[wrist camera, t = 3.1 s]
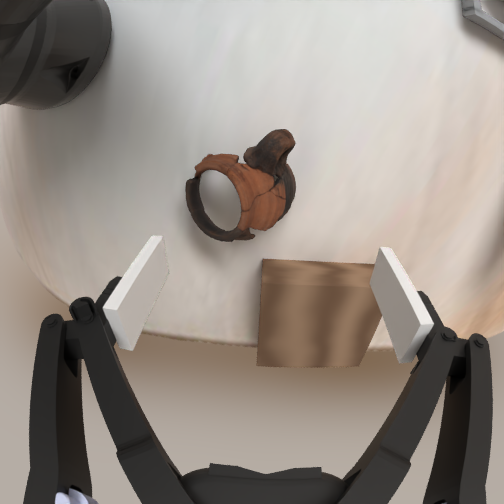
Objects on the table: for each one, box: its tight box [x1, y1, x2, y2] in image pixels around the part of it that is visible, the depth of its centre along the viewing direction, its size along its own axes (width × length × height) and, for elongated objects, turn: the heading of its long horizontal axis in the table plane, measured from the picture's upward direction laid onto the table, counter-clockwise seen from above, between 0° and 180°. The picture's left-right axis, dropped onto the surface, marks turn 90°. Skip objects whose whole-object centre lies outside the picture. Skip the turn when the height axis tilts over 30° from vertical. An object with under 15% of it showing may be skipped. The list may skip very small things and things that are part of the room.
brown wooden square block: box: [257, 259, 382, 367], centre depth 36 cm, size 15×15×5 cm
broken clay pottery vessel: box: [185, 129, 296, 242], centre depth 26 cm, size 12×9×8 cm
